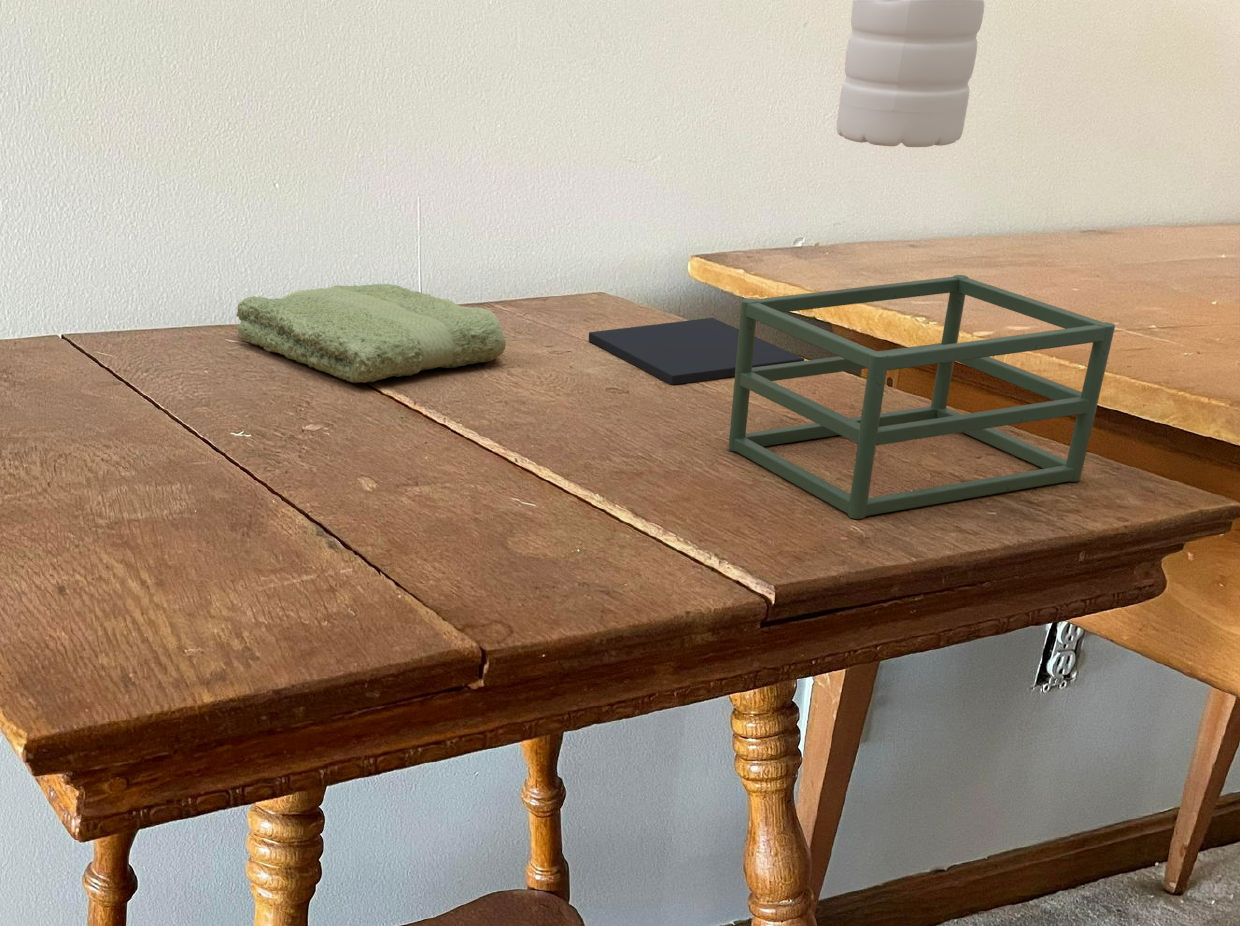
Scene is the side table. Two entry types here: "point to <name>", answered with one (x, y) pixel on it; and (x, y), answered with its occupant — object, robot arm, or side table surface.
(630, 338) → the mat
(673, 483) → the side table surface
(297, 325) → the washcloth
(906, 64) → the water bottle
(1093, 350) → the green open frame box
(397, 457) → the side table surface
